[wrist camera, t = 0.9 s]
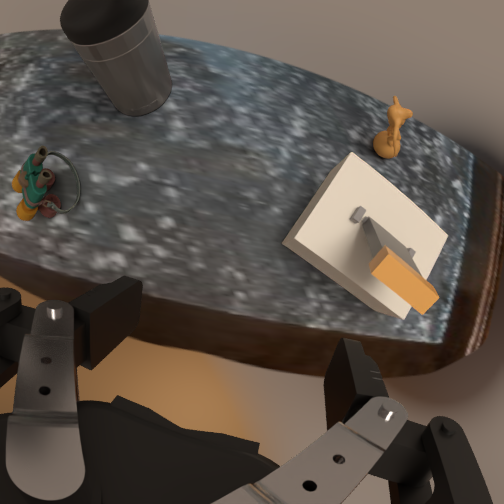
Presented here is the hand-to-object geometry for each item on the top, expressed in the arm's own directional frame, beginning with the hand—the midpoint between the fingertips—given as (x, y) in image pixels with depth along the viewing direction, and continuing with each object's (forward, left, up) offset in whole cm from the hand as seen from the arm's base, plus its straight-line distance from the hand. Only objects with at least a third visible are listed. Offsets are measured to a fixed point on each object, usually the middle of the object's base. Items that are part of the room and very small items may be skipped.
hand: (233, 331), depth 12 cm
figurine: (-12, +25, -28) cm, 40 cm away
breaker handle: (0, +17, -19) cm, 26 cm away
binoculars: (-19, -21, -28) cm, 40 cm away
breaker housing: (0, +17, -28) cm, 33 cm away
